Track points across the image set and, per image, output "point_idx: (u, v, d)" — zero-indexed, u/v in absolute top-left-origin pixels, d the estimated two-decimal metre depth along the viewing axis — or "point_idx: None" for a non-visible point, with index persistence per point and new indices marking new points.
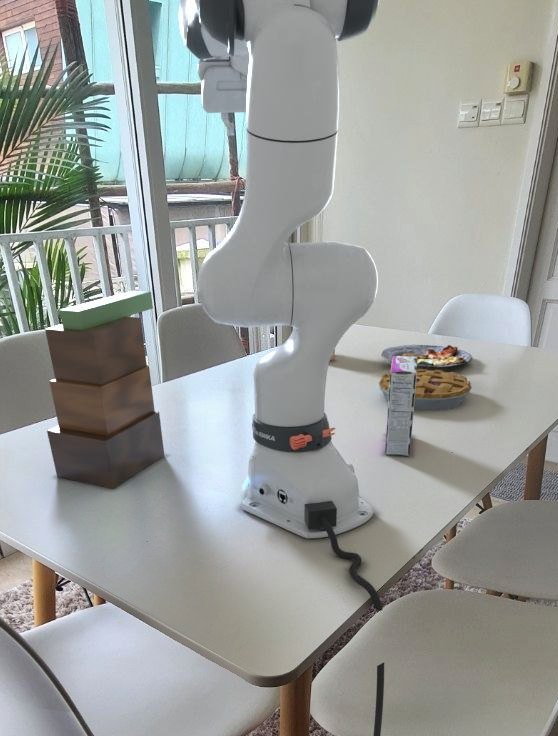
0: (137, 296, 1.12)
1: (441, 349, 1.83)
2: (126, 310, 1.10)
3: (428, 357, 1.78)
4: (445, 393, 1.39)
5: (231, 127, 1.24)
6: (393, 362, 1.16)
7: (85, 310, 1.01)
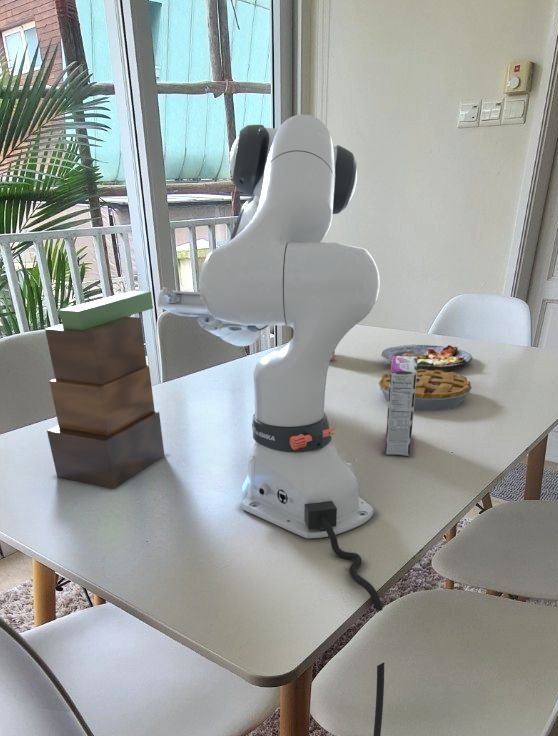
0: (137, 296, 1.12)
1: (441, 349, 1.83)
2: (126, 310, 1.10)
3: (428, 357, 1.78)
4: (445, 393, 1.39)
5: None
6: (393, 362, 1.16)
7: (85, 310, 1.01)
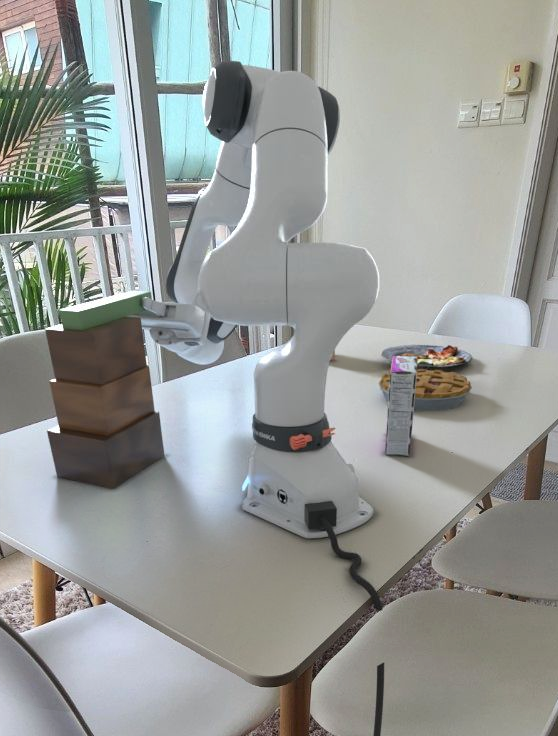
0: (137, 296, 1.12)
1: (441, 349, 1.83)
2: (126, 310, 1.10)
3: (428, 357, 1.78)
4: (445, 393, 1.39)
5: None
6: (393, 362, 1.16)
7: (85, 310, 1.01)
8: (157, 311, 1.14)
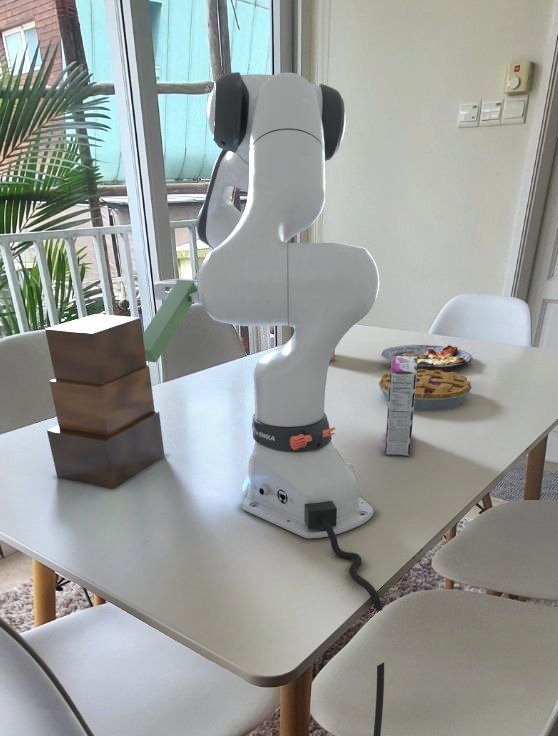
0: (185, 296, 1.25)
1: (441, 349, 1.83)
2: (180, 315, 1.25)
3: (428, 357, 1.78)
4: (445, 393, 1.39)
5: None
6: (393, 362, 1.16)
7: (154, 345, 1.19)
8: None
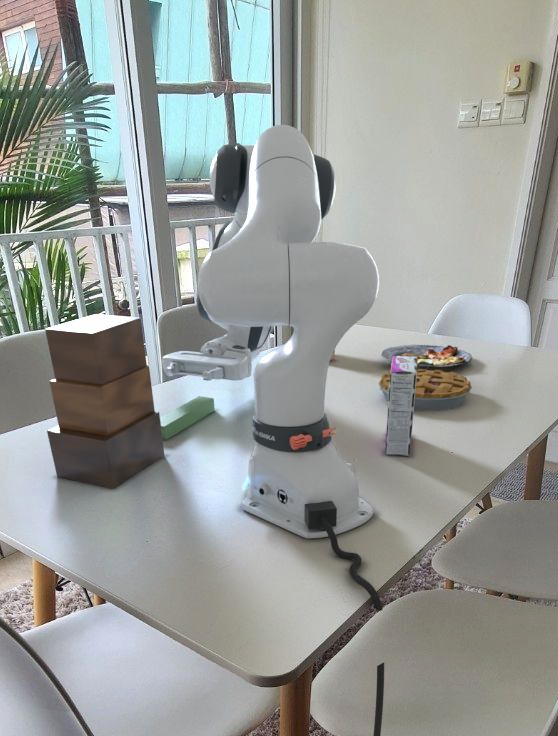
0: (204, 404, 1.40)
1: (441, 349, 1.83)
2: (196, 417, 1.38)
3: (428, 357, 1.78)
4: (445, 393, 1.39)
5: None
6: (393, 362, 1.16)
7: (168, 424, 1.29)
8: (218, 377, 1.35)
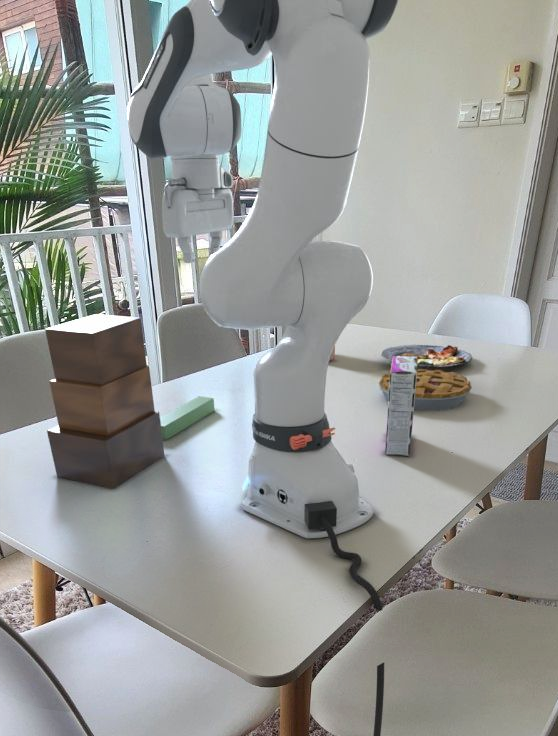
0: (204, 404, 1.40)
1: (441, 349, 1.83)
2: (196, 417, 1.38)
3: (428, 357, 1.78)
4: (445, 393, 1.39)
5: (192, 253, 1.16)
6: (393, 362, 1.16)
7: (168, 424, 1.29)
8: None
